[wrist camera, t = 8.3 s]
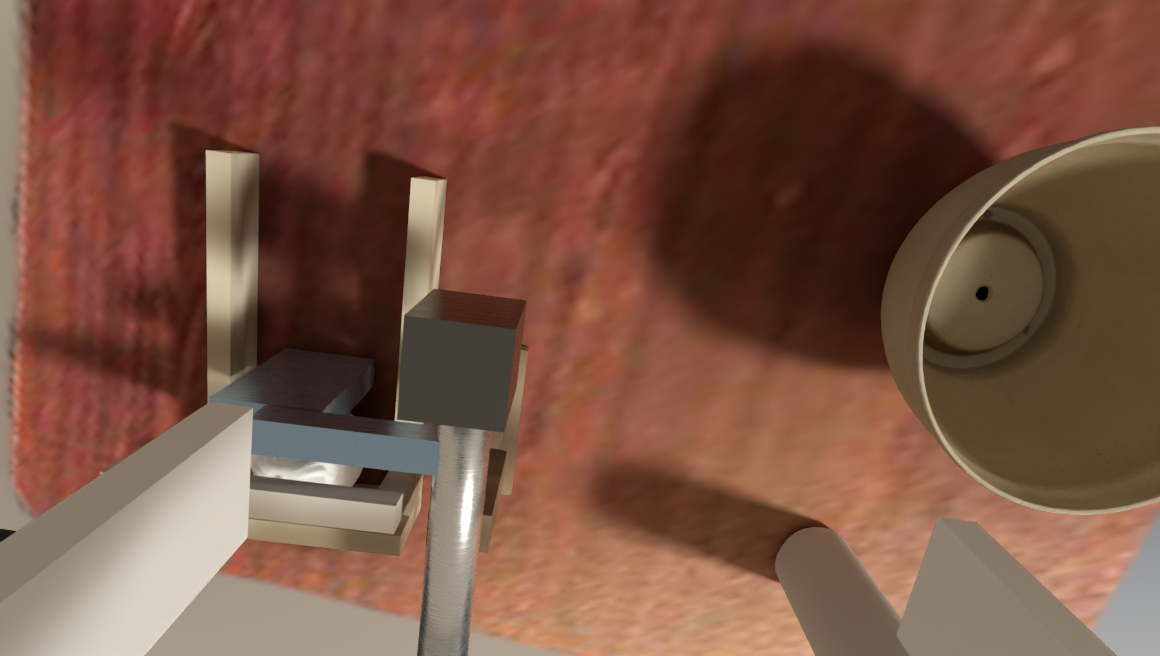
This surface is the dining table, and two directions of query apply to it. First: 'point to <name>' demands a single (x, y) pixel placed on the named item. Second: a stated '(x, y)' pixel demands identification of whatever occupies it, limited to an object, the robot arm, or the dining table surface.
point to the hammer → (408, 430)
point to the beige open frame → (232, 306)
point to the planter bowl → (1040, 324)
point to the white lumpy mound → (305, 470)
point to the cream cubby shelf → (502, 459)
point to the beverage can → (836, 597)
